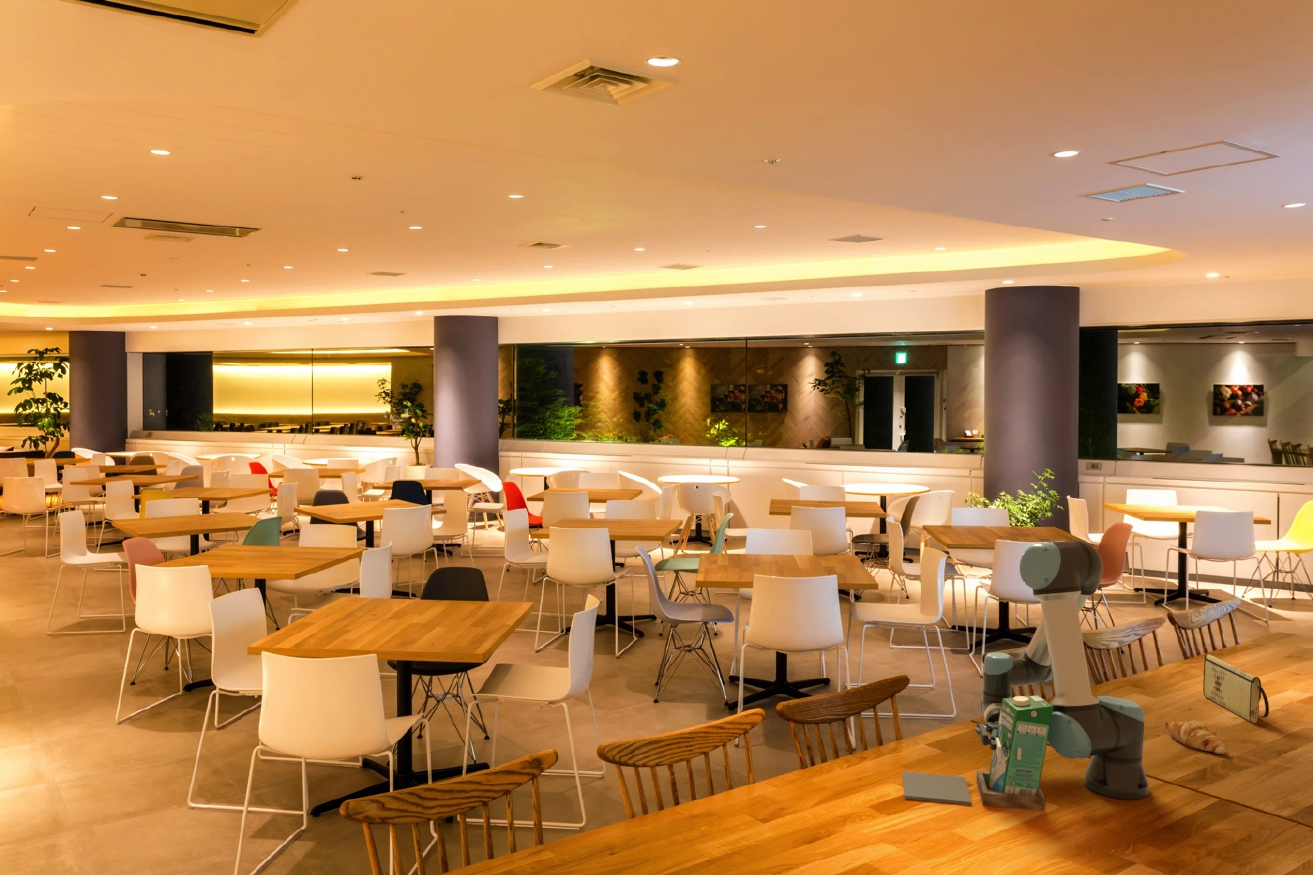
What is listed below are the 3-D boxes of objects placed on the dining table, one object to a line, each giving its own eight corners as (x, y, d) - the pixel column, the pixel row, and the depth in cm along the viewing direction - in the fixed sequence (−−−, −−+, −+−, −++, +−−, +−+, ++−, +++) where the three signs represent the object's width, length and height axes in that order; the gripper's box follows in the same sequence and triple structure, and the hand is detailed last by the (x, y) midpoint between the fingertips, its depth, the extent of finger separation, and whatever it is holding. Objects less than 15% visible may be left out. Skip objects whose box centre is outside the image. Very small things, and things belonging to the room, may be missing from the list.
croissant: (1232, 767, 281) (1243, 742, 281) (1209, 755, 277) (1220, 729, 278) (1171, 740, 301) (1182, 716, 301) (1149, 728, 297) (1160, 704, 298)
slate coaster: (965, 779, 260) (965, 776, 260) (971, 805, 245) (971, 801, 245) (902, 774, 264) (902, 771, 264) (904, 798, 248) (905, 795, 248)
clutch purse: (1275, 726, 306) (1277, 678, 305) (1252, 725, 306) (1255, 678, 305) (1218, 695, 336) (1220, 652, 335) (1198, 695, 335) (1200, 651, 335)
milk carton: (987, 784, 255) (1004, 689, 253) (1020, 788, 255) (1037, 694, 254) (1001, 798, 246) (1019, 700, 244) (1036, 803, 246) (1054, 705, 245)
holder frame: (1034, 787, 256) (1034, 776, 256) (1044, 810, 242) (1044, 798, 242) (976, 782, 259) (976, 770, 259) (982, 804, 245) (983, 793, 245)
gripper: (1032, 738, 266) (1045, 771, 243) (966, 731, 270) (972, 764, 247) (1033, 710, 265) (1046, 742, 243) (967, 704, 269) (974, 734, 247)
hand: (1009, 753), depth 245 cm, fingers open, 4 cm apart
